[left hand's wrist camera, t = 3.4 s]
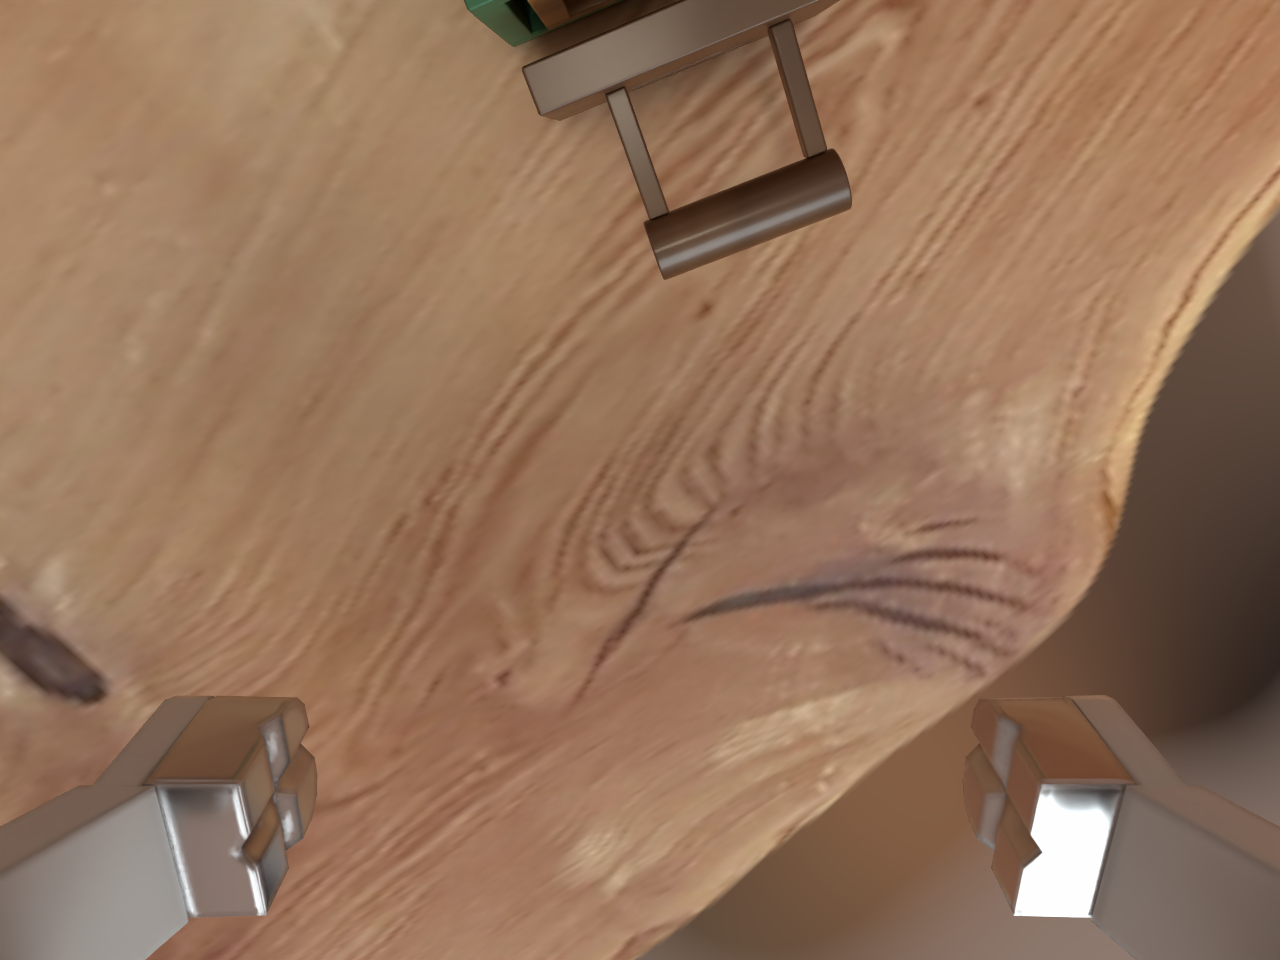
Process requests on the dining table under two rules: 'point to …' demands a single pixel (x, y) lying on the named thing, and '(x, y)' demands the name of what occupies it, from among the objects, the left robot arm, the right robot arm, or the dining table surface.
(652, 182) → the drawer
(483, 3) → the cabinet
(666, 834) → the dining table surface
